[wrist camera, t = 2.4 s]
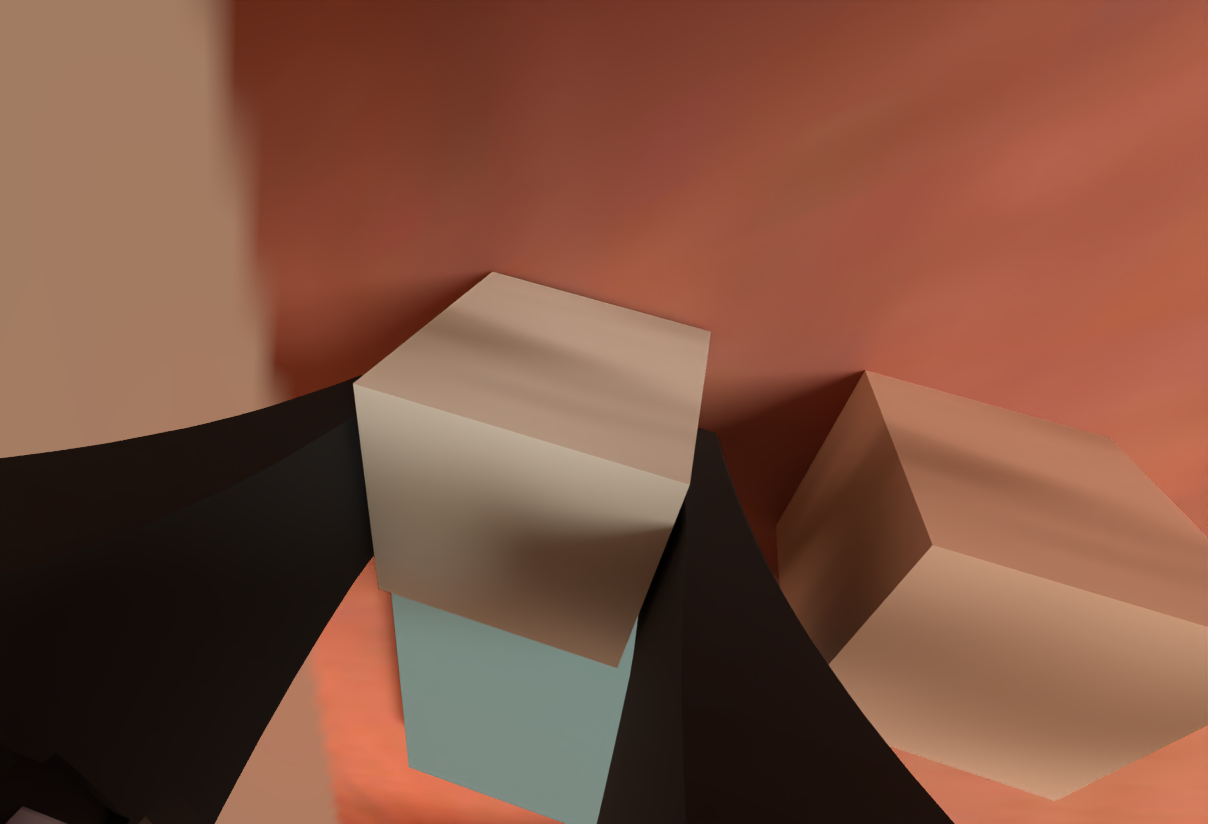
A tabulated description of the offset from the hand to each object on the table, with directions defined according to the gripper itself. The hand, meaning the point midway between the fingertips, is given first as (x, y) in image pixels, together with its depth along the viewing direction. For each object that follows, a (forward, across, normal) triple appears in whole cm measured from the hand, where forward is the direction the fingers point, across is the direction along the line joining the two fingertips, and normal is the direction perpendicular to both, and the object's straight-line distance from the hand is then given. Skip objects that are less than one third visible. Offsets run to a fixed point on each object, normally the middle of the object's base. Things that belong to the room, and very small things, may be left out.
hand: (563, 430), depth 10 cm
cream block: (+1, 0, 0) cm, 1 cm away
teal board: (+2, -2, +12) cm, 12 cm away
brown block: (+2, -8, 0) cm, 8 cm away
